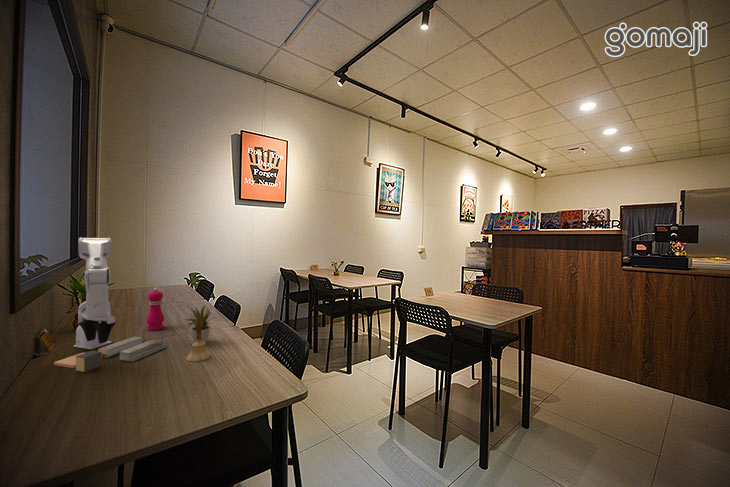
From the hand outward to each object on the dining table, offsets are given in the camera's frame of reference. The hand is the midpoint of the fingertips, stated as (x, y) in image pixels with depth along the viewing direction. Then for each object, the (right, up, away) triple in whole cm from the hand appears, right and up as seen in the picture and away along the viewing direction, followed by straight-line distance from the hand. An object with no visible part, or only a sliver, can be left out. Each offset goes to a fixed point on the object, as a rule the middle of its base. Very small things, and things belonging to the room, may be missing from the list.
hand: (97, 341), depth 105 cm
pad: (-9, -8, +3) cm, 12 cm away
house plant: (+22, -9, +26) cm, 35 cm away
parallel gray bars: (+2, -8, +12) cm, 15 cm away
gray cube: (-1, -9, -2) cm, 9 cm away
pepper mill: (-8, -7, +40) cm, 42 cm away
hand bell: (+30, -9, +9) cm, 33 cm away
